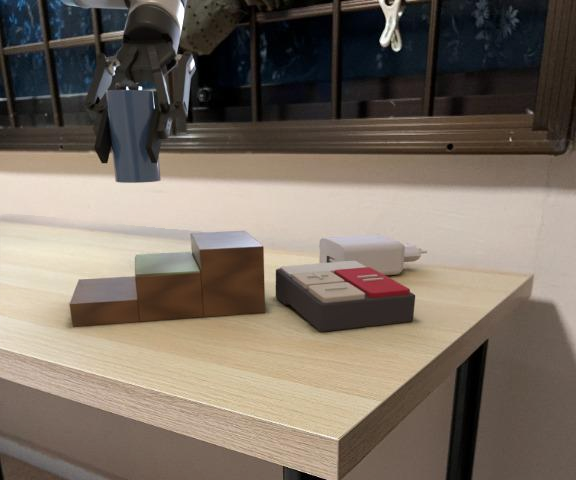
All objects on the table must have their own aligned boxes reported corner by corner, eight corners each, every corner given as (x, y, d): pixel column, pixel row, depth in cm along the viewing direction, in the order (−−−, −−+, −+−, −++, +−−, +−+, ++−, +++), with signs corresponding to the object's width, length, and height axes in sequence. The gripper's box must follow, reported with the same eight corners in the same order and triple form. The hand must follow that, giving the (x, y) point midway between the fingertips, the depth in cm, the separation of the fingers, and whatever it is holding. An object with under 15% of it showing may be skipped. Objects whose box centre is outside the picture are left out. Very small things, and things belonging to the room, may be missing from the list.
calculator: (321, 297, 61) (274, 262, 73) (319, 338, 63) (274, 296, 75) (418, 288, 64) (357, 255, 77) (414, 326, 66) (355, 289, 79)
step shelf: (72, 326, 65) (62, 256, 62) (81, 299, 76) (72, 238, 73) (265, 312, 69) (263, 246, 67) (247, 288, 80) (245, 230, 77)
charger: (438, 273, 88) (342, 281, 84) (408, 261, 96) (318, 268, 92) (441, 239, 86) (343, 246, 82) (410, 230, 94) (319, 236, 90)
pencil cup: (124, 179, 86) (114, 85, 81) (166, 179, 85) (158, 84, 80) (108, 182, 80) (96, 82, 76) (152, 182, 79) (143, 81, 75)
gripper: (79, 5, 84) (41, 134, 75) (213, 1, 82) (191, 132, 73) (99, 53, 91) (67, 176, 82) (224, 50, 89) (204, 175, 80)
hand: (126, 155), depth 78 cm, fingers closed on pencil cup, 6 cm apart
